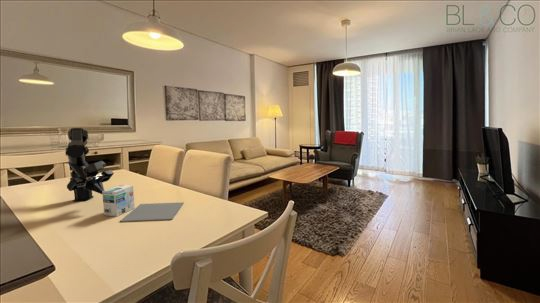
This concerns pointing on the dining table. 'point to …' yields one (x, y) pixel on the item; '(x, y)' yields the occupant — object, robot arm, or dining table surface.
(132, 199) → the light bulb box
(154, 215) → the charcoal mat
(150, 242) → the dining table surface
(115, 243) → the dining table surface
